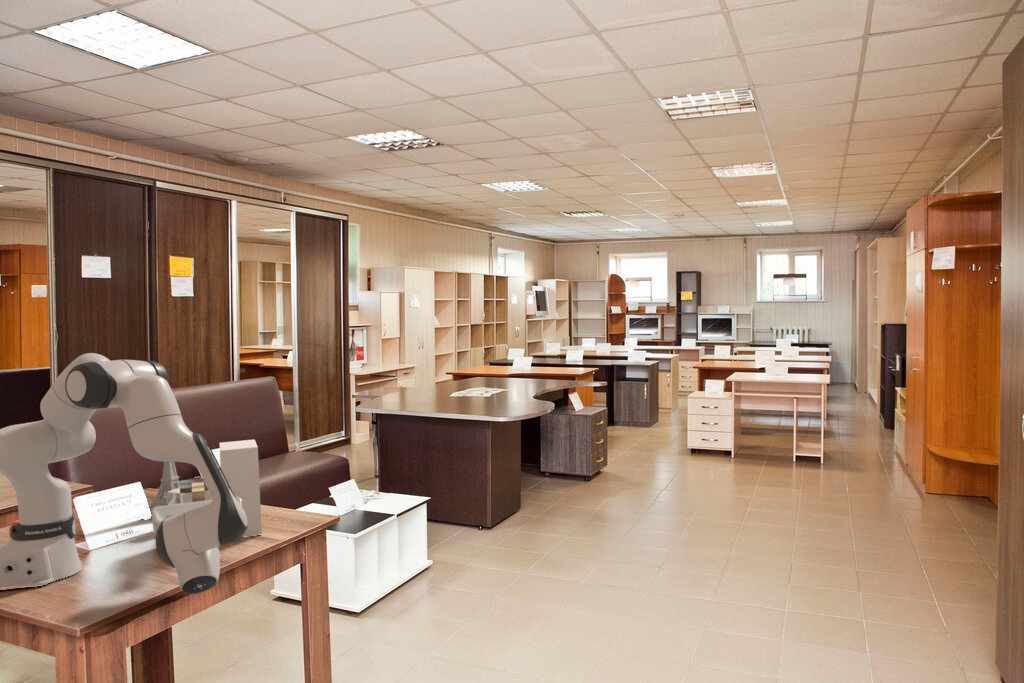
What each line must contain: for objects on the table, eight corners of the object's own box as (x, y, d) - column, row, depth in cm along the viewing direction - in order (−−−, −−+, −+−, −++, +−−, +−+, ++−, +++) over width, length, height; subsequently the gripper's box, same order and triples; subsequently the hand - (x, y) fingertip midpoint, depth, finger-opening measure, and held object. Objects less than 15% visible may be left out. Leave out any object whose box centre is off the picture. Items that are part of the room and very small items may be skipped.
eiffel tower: (139, 520, 217) (134, 427, 216) (167, 508, 230) (163, 420, 229) (176, 521, 215) (171, 427, 213) (202, 509, 228) (198, 420, 227)
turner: (180, 484, 196) (180, 475, 196) (214, 480, 200) (214, 471, 199) (179, 503, 175) (179, 494, 175) (217, 499, 179) (217, 489, 179)
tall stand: (224, 540, 194) (220, 450, 193) (223, 527, 207) (219, 442, 206) (261, 535, 198) (257, 447, 197) (258, 522, 211) (254, 439, 210)
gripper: (245, 517, 164) (241, 478, 174) (149, 530, 155) (151, 488, 166) (245, 535, 167) (242, 496, 177) (151, 549, 158) (153, 507, 169)
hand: (197, 493), depth 172 cm, fingers open, 8 cm apart
